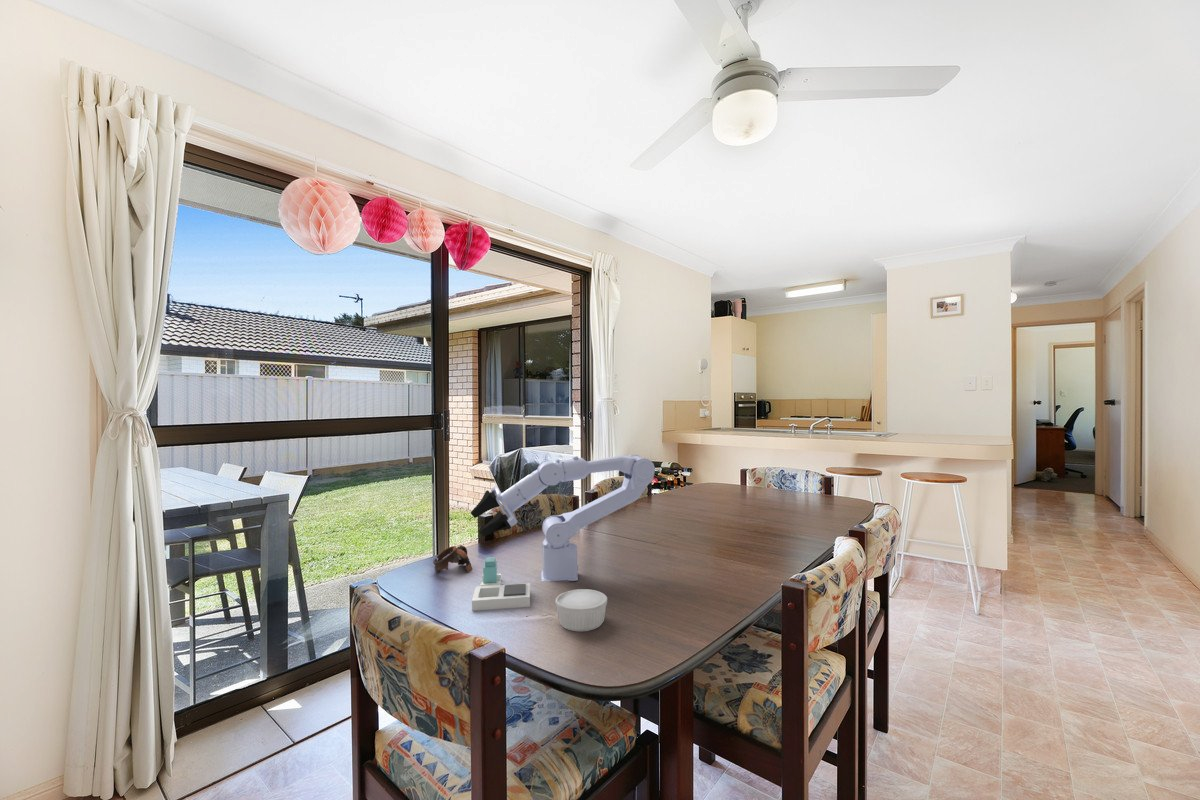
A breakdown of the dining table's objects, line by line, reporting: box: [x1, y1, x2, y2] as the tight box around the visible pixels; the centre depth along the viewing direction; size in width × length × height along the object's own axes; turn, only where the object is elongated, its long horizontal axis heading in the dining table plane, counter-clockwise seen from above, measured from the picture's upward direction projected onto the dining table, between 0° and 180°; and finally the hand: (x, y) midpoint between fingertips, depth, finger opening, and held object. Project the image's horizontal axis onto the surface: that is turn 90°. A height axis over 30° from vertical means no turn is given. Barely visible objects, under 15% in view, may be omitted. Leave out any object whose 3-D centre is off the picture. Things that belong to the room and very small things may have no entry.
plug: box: [482, 556, 498, 584], centre depth 130 cm, size 3×4×6 cm
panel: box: [471, 582, 531, 612], centre depth 120 cm, size 13×9×3 cm
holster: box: [479, 573, 502, 586], centre depth 130 cm, size 5×8×2 cm, turn 8°
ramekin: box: [554, 588, 608, 633], centre depth 109 cm, size 11×11×5 cm
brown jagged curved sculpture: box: [432, 545, 473, 573], centre depth 143 cm, size 12×10×8 cm
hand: (476, 524), depth 132 cm, fingers open, 7 cm apart
